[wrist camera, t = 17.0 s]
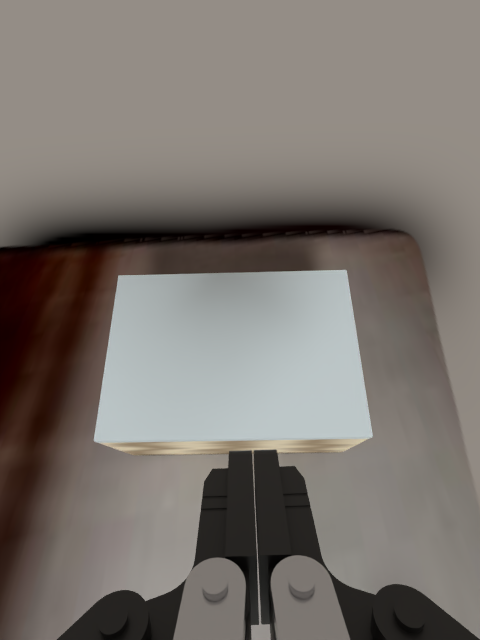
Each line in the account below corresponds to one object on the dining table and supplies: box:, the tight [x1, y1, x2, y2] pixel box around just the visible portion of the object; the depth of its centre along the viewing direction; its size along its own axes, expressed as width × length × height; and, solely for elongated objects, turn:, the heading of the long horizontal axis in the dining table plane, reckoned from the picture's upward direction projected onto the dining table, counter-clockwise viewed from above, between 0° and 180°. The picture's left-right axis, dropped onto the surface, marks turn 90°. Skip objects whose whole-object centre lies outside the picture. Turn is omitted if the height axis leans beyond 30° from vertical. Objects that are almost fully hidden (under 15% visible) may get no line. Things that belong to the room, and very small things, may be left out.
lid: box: [94, 270, 373, 443], centre depth 30 cm, size 20×14×1 cm
